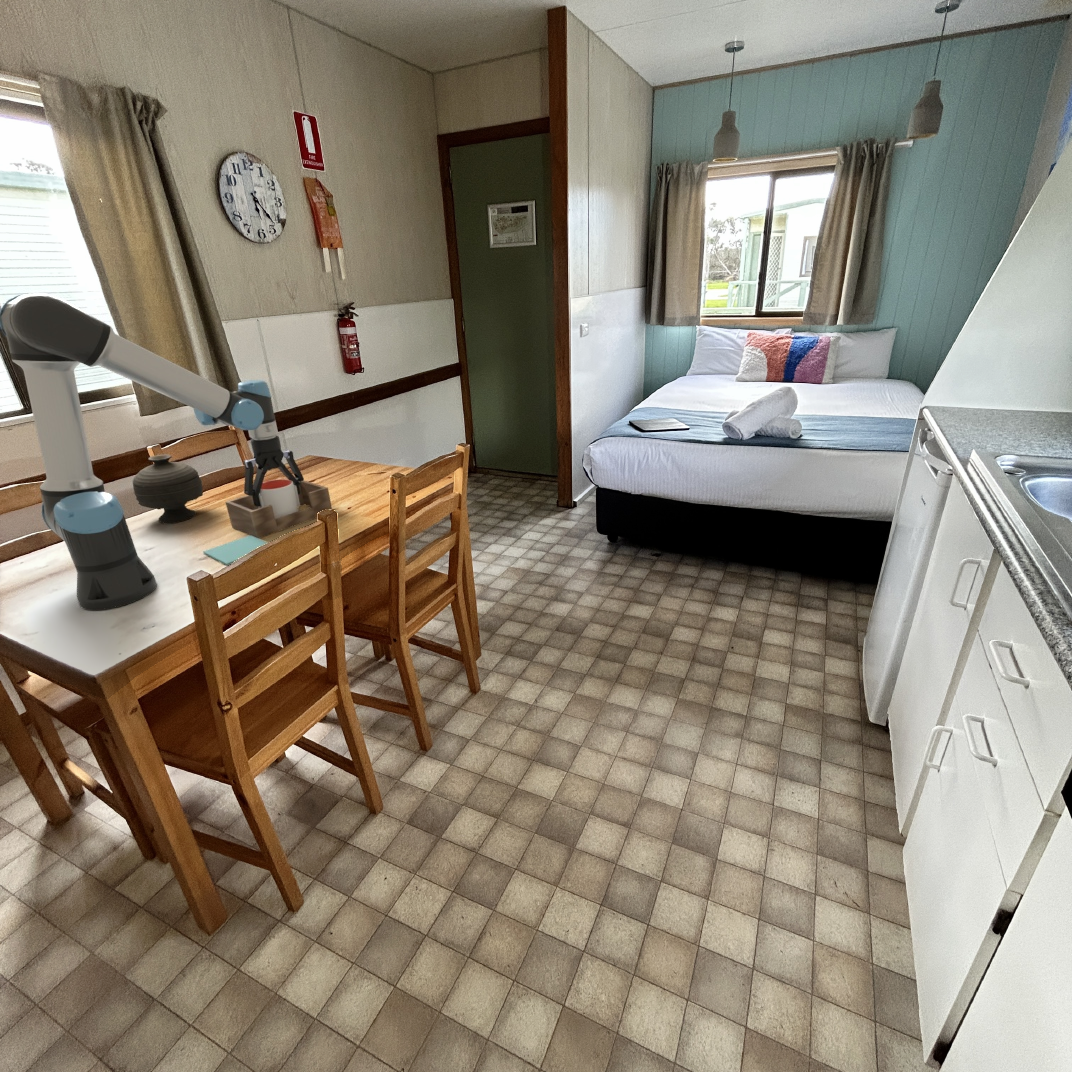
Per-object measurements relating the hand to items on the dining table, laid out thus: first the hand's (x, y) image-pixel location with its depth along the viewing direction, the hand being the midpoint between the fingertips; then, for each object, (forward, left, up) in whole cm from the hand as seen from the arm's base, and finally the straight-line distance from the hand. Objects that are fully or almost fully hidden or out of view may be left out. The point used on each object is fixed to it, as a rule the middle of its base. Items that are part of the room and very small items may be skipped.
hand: (280, 510), depth 174 cm
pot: (-17, +31, -3) cm, 36 cm away
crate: (0, 0, -3) cm, 3 cm away
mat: (-19, -11, -3) cm, 22 cm away
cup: (0, 0, -2) cm, 2 cm away
